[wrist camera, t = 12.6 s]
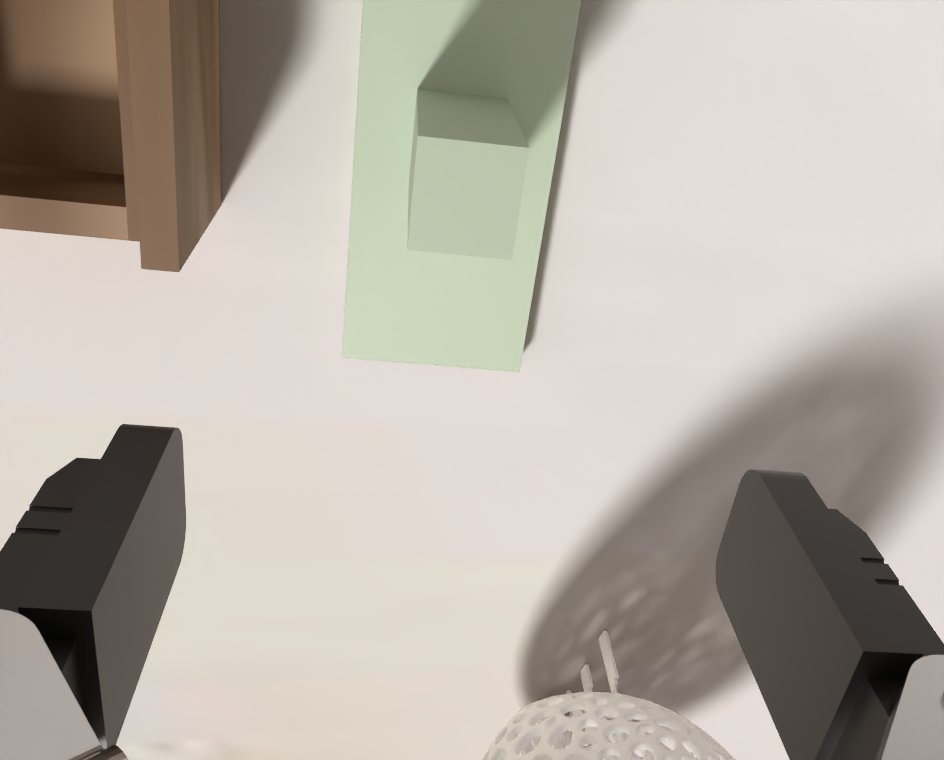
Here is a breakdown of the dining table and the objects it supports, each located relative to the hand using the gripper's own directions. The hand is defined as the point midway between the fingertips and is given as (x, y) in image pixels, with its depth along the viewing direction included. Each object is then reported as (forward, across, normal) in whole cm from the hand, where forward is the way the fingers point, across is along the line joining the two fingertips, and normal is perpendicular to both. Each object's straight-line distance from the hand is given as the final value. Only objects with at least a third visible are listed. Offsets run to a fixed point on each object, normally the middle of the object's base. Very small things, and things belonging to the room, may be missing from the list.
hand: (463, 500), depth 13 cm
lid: (+19, 0, -1) cm, 19 cm away
